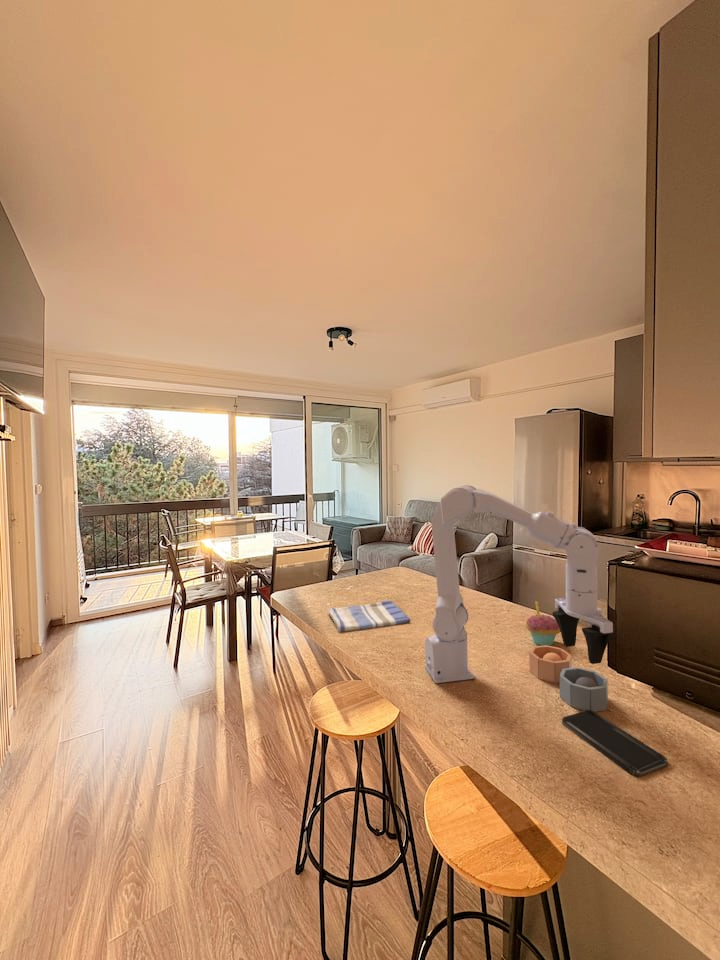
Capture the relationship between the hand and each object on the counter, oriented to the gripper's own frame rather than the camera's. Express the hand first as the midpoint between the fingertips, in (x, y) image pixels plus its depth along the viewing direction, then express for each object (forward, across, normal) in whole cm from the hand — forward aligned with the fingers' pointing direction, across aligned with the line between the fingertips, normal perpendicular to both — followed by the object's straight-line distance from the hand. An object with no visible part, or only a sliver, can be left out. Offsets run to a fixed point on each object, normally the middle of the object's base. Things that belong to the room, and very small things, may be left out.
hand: (581, 653), depth 84 cm
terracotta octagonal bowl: (+9, +11, 0) cm, 14 cm away
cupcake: (+10, +26, -8) cm, 29 cm away
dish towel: (+10, +55, +35) cm, 66 cm away
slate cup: (+9, 0, 0) cm, 9 cm away
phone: (+10, -13, +4) cm, 17 cm away
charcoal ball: (+7, -1, 0) cm, 7 cm away
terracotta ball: (+7, +10, 0) cm, 12 cm away
